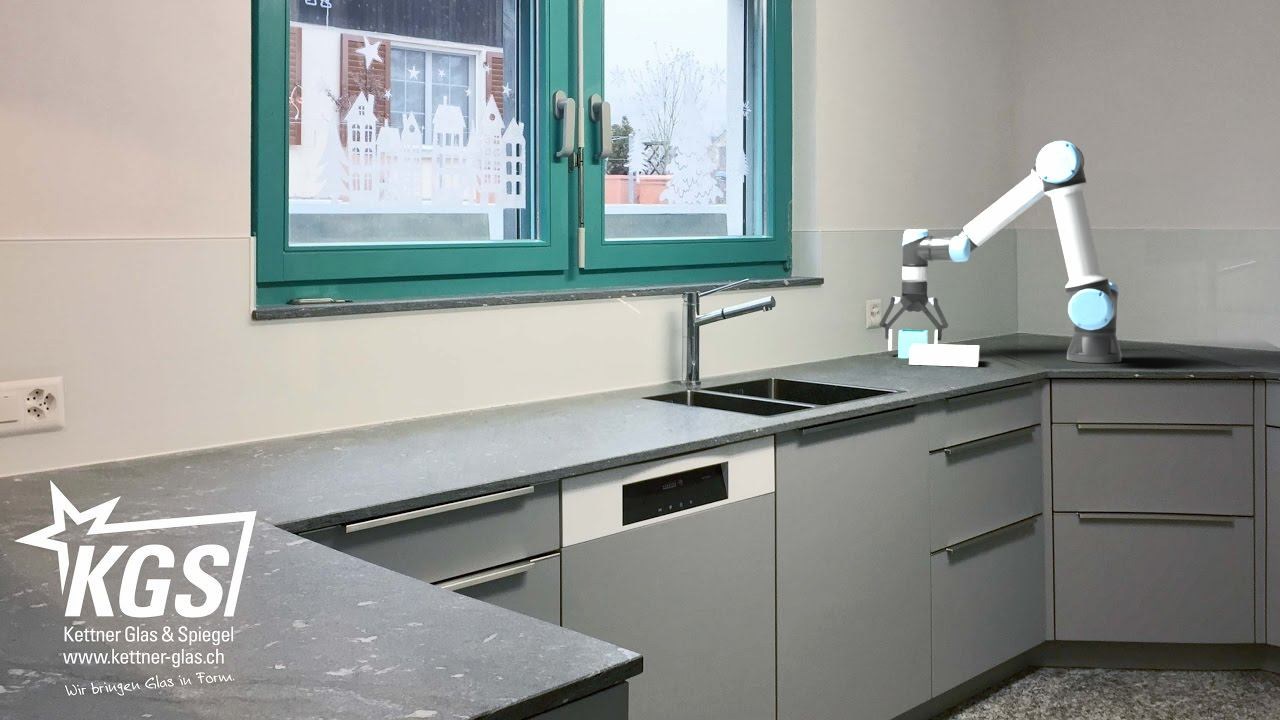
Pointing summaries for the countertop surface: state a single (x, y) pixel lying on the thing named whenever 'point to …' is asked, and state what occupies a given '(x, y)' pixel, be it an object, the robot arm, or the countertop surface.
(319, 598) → the countertop surface
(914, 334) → the small crate
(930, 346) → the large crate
